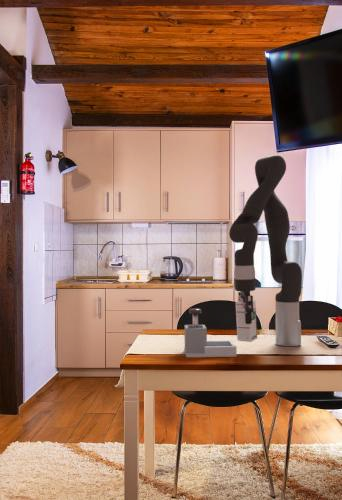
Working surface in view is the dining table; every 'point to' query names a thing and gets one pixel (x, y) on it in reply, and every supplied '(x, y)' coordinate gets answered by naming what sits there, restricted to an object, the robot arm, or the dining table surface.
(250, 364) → the dining table surface
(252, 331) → the syrup box
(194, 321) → the black knob with stem
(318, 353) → the dining table surface
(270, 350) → the dining table surface
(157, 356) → the dining table surface
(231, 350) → the tray
